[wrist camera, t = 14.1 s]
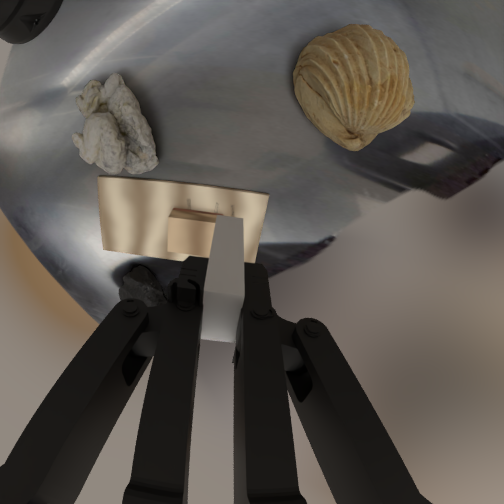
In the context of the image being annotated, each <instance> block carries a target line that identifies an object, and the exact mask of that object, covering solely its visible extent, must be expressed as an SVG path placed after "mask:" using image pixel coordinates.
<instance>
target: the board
mask: <svg viewBox="0 0 504 504" xmlns="http://www.w3.org/2000/svg"><path fill="white" fill-rule="evenodd" d="M268 198H269V194H266V193H260V192H253V191H247V190H240V189H233V188H225V187H218V186H210V185H202V184H193V183H185V182H175V181H165V180H155V179H143V178H131V177H116V176H98V199H99V213H100V225H101V235H102V243H103V250H108V251H115V252H121V253H128V254H135V255H142V256H149V257H157V258H164V259H171V260H179V261H184V260H185V259H186V258H187V257H188V256H197V255H190V254H182V253H175V252H167V248H168V217H169V215H170V213H171V211H172V210H173V208H179V209H188V210H196V211H204V212H211V213H219V214H223V216H230V217H237V218H243V226H244V262H249V263H255V259H256V254H257V249H258V245H259V240H260V235H261V231H262V226H263V221H264V217H265V212H266V207H267V202H268ZM197 257H204V258H209V257H205V256H197Z"/></svg>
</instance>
